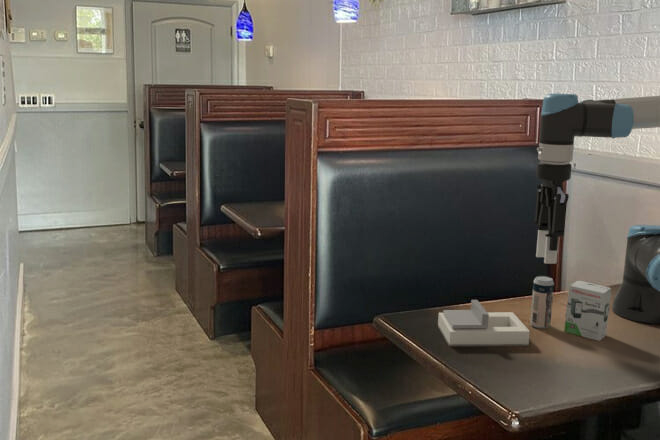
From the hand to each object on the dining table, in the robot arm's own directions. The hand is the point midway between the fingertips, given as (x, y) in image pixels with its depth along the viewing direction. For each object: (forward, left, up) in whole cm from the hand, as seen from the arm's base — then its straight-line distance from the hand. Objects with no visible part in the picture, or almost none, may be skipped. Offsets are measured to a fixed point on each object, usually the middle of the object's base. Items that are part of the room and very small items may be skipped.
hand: (546, 259), depth 163 cm
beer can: (0, 0, -17) cm, 17 cm away
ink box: (-9, +5, -17) cm, 20 cm away
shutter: (+20, +6, -13) cm, 25 cm away
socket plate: (+16, +6, -17) cm, 24 cm away
